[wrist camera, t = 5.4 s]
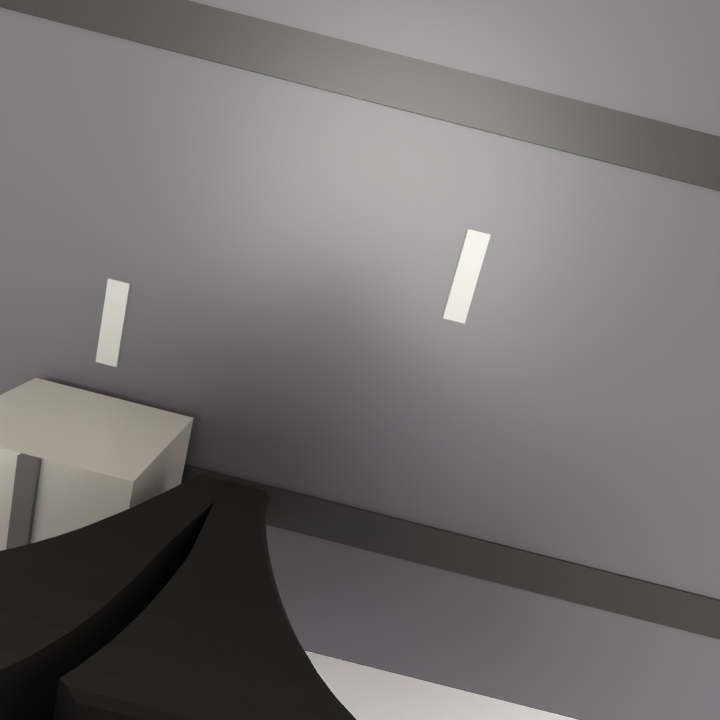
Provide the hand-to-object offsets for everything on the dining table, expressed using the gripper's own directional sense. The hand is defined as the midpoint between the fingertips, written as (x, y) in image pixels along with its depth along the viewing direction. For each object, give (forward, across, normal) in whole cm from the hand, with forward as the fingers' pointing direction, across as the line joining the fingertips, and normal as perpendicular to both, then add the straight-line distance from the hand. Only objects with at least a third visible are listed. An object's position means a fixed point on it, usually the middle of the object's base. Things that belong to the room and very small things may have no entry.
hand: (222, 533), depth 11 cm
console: (+3, -2, -4) cm, 6 cm away
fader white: (+1, +3, 0) cm, 3 cm away
